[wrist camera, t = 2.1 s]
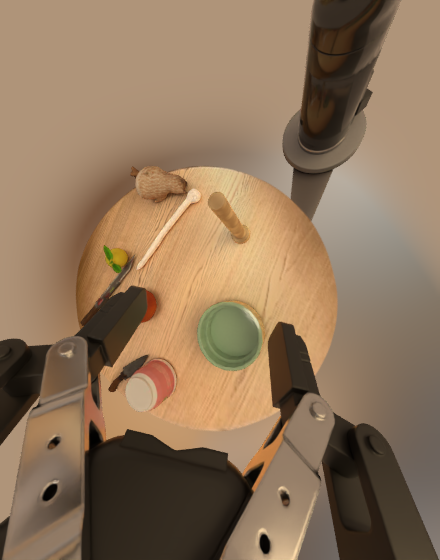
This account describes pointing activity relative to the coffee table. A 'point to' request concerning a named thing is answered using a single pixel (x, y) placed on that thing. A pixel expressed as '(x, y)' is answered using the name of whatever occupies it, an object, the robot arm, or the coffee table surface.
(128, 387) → the container
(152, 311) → the fruit
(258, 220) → the coffee table surface
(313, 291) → the coffee table surface
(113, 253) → the lemon
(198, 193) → the cream knobbed rod
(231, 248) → the coffee table surface
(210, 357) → the bowl
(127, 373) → the knife
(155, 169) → the figurine
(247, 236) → the stick
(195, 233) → the coffee table surface
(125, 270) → the knife
